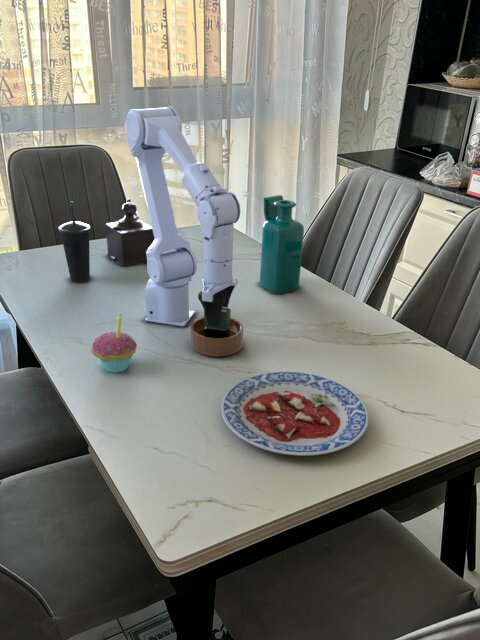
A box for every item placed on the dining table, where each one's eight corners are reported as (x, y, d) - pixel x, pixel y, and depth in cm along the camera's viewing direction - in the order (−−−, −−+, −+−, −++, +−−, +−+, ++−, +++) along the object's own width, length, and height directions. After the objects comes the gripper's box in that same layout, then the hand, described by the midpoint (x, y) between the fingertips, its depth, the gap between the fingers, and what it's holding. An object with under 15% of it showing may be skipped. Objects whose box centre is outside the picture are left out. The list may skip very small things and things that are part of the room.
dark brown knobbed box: (104, 256, 172) (98, 191, 162) (139, 249, 178) (135, 186, 168) (129, 273, 162) (125, 205, 152) (165, 266, 167) (163, 200, 157)
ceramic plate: (259, 480, 93) (260, 465, 91) (199, 395, 112) (199, 382, 111) (396, 444, 102) (399, 429, 100) (319, 371, 121) (321, 358, 120)
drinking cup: (101, 277, 159) (94, 200, 148) (80, 287, 153) (71, 207, 142) (80, 271, 162) (71, 195, 151) (59, 280, 156) (48, 201, 145)
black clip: (204, 344, 128) (204, 326, 126) (207, 339, 130) (207, 321, 128) (226, 348, 127) (227, 330, 125) (229, 343, 129) (230, 325, 127)
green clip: (204, 326, 126) (204, 308, 124) (207, 321, 128) (207, 303, 126) (226, 330, 125) (227, 311, 123) (230, 325, 127) (230, 306, 125)
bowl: (183, 353, 126) (183, 334, 123) (200, 331, 135) (200, 312, 132) (234, 362, 123) (235, 342, 121) (247, 338, 132) (248, 319, 130)
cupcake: (144, 361, 122) (141, 307, 116) (124, 381, 116) (120, 325, 109) (107, 353, 125) (101, 299, 118) (85, 373, 118) (78, 317, 111)
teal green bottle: (301, 288, 157) (310, 203, 144) (276, 295, 152) (282, 207, 140) (278, 276, 163) (284, 193, 151) (253, 282, 159) (257, 197, 147)
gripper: (227, 273, 111) (225, 338, 119) (246, 248, 123) (244, 309, 131) (191, 268, 113) (191, 333, 120) (213, 244, 125) (213, 304, 132)
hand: (217, 320), depth 126 cm, fingers open, 4 cm apart
